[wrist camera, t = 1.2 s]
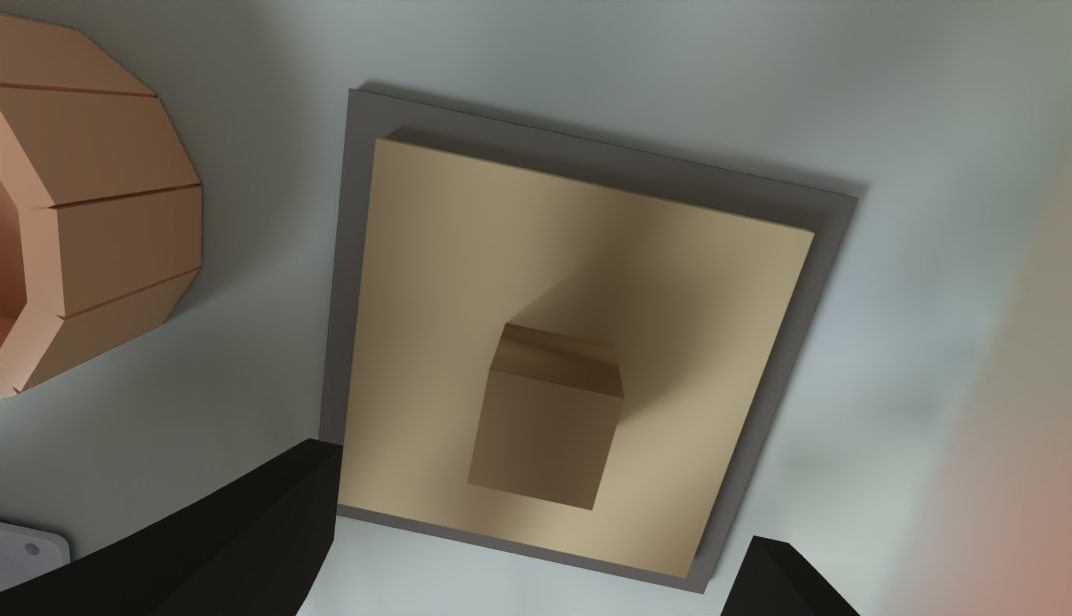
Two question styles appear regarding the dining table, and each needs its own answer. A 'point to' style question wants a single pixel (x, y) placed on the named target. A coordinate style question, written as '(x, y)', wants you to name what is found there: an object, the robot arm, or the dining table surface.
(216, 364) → the dining table surface
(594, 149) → the mat
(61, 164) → the bowl
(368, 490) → the lid
